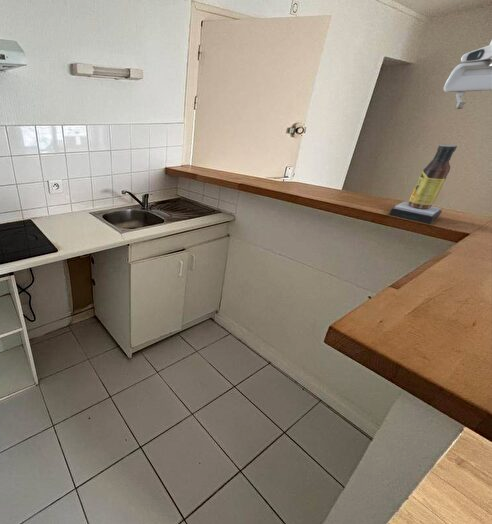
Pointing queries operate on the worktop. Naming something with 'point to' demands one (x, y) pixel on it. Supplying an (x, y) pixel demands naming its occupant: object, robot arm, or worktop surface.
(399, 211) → the kitchen scale
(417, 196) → the sauce bottle
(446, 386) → the worktop surface
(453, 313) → the worktop surface
